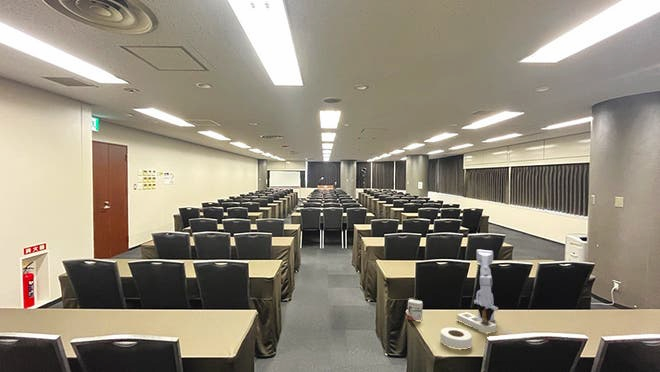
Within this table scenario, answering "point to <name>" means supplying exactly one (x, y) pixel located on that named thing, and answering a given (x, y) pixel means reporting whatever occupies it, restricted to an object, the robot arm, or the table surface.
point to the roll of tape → (456, 337)
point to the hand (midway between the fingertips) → (485, 319)
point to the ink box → (414, 309)
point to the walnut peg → (484, 317)
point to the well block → (476, 322)
